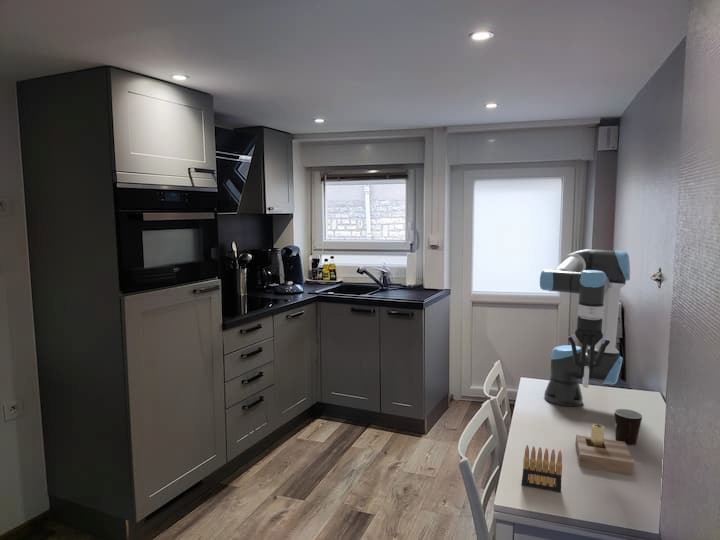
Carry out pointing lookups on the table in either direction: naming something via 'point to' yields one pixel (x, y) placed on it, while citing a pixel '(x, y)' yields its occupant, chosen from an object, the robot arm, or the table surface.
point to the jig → (604, 455)
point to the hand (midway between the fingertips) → (585, 386)
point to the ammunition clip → (542, 470)
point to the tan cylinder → (597, 435)
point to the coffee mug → (627, 425)
